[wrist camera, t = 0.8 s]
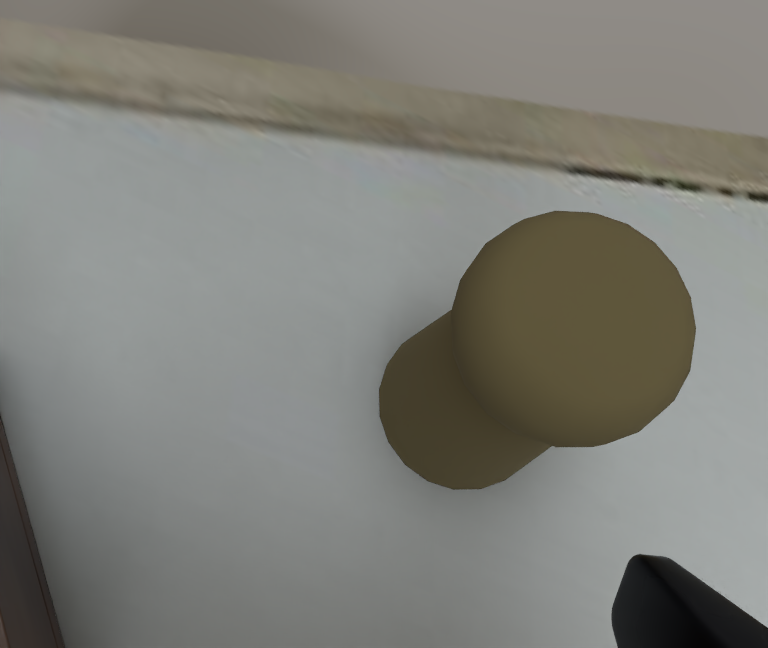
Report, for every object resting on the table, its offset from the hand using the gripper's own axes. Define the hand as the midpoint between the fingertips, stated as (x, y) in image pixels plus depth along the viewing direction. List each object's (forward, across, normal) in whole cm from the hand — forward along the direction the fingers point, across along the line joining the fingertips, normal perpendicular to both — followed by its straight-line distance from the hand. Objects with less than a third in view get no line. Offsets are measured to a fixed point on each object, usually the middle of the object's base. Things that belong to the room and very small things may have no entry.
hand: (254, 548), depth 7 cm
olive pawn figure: (+14, -6, +5) cm, 16 cm away
